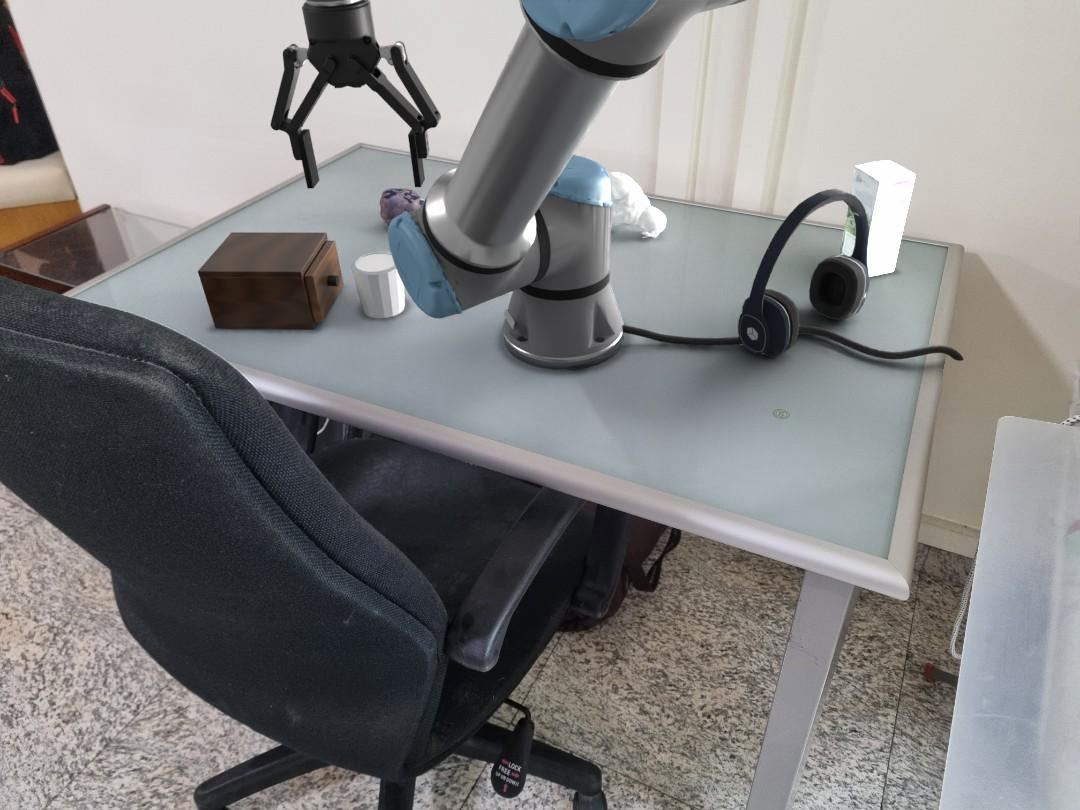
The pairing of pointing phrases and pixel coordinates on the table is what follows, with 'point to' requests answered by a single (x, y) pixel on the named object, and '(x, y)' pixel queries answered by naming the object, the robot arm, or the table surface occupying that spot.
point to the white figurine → (633, 206)
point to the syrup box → (880, 212)
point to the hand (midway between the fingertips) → (366, 184)
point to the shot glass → (378, 284)
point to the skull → (398, 203)
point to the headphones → (832, 288)
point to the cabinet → (261, 280)
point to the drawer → (323, 280)
